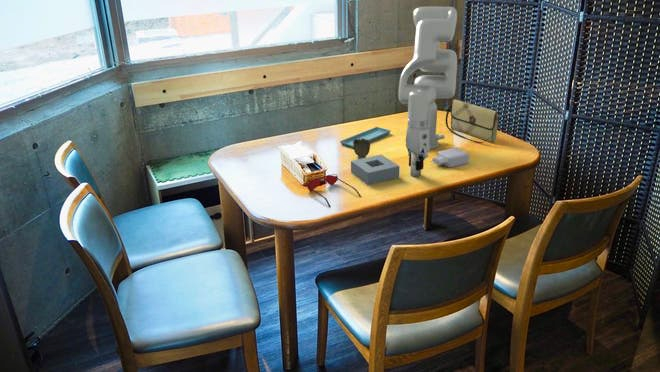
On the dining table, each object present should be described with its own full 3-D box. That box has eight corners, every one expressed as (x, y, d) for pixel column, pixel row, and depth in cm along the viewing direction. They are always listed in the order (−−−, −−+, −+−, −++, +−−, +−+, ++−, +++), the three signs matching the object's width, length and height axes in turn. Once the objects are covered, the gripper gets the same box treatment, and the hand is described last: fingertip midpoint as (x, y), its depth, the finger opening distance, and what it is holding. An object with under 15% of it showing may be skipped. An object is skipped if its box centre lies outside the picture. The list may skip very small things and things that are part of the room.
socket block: (381, 165, 226) (381, 154, 224) (399, 177, 215) (399, 165, 213) (350, 172, 221) (350, 160, 219) (367, 184, 209) (367, 172, 207)
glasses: (336, 183, 213) (336, 171, 211) (361, 198, 200) (361, 185, 198) (305, 192, 206) (305, 180, 204) (329, 208, 193) (329, 195, 191)
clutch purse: (441, 130, 265) (443, 100, 258) (451, 127, 268) (453, 97, 262) (489, 147, 242) (492, 115, 236) (500, 144, 245) (503, 112, 239)
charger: (425, 164, 227) (454, 157, 233) (438, 171, 220) (468, 164, 226) (425, 153, 225) (454, 146, 231) (439, 160, 218) (469, 153, 224)
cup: (369, 162, 230) (369, 144, 227) (351, 161, 232) (351, 143, 228) (371, 155, 237) (371, 138, 234) (354, 154, 238) (354, 137, 235)
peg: (417, 172, 219) (418, 148, 215) (422, 175, 216) (423, 152, 212) (408, 174, 218) (409, 150, 213) (414, 177, 214) (415, 154, 210)
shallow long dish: (354, 150, 245) (354, 145, 244) (339, 145, 251) (339, 140, 250) (391, 135, 261) (391, 130, 260) (376, 131, 267) (376, 126, 266)
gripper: (439, 127, 202) (436, 173, 210) (413, 115, 216) (412, 159, 224) (421, 131, 199) (419, 177, 207) (397, 118, 213) (396, 162, 221)
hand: (415, 167), depth 215 cm, fingers closed on peg, 4 cm apart
